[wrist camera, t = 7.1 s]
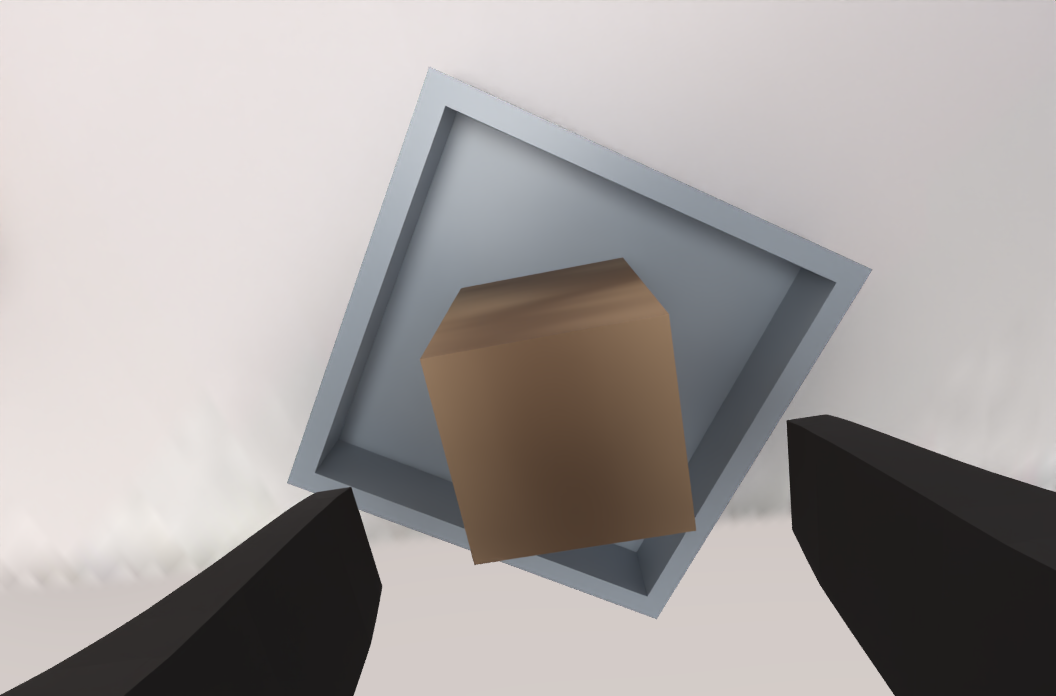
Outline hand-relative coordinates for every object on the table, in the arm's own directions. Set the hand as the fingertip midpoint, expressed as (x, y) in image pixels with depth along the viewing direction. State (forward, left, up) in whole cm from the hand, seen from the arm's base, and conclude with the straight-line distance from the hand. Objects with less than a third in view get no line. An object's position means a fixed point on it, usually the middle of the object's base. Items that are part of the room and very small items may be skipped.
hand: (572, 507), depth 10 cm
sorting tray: (0, 0, -8) cm, 8 cm away
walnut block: (0, 0, -8) cm, 8 cm away
